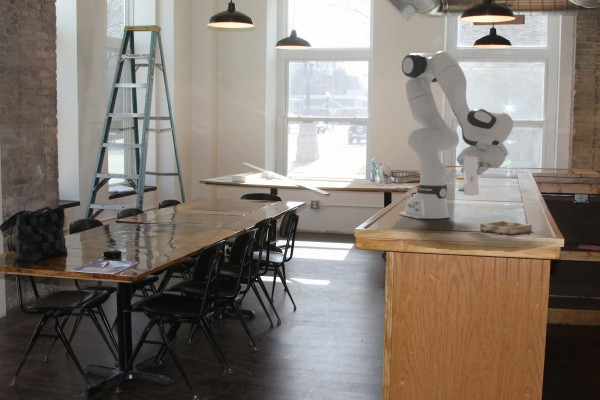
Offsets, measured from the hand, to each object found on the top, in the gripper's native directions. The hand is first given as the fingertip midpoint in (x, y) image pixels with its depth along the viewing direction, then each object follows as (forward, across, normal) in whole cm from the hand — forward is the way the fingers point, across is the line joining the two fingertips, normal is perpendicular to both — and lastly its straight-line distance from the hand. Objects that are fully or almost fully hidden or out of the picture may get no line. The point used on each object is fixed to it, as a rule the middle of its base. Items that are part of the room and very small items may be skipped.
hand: (470, 173), depth 292 cm
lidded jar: (-64, -102, +97) cm, 154 cm away
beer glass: (+6, 0, +7) cm, 9 cm away
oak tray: (+11, +13, +19) cm, 26 cm away
